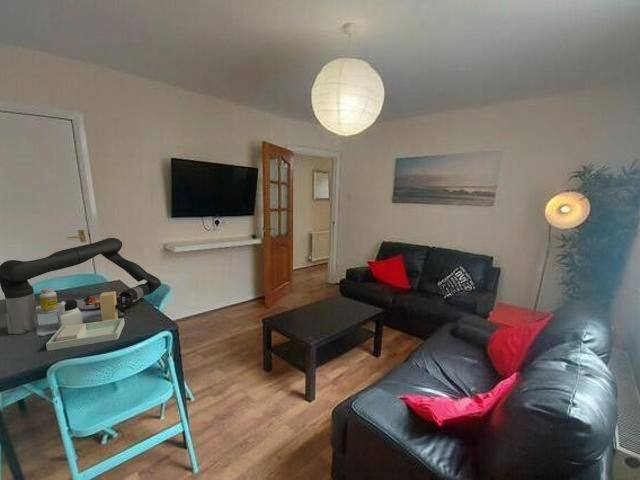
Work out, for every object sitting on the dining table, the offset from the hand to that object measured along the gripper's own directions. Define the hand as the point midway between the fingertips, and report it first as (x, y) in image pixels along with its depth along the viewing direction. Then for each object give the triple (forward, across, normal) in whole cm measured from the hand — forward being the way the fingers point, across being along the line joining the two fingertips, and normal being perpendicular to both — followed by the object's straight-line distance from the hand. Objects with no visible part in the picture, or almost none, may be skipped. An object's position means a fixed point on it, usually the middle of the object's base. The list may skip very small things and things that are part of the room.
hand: (108, 306), depth 143 cm
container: (+7, -14, +9) cm, 18 cm away
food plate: (-23, -24, +9) cm, 34 cm away
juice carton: (-1, 0, +8) cm, 9 cm away
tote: (+15, +3, +8) cm, 17 cm away
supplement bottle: (-8, -41, +9) cm, 43 cm away
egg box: (+18, -2, +8) cm, 20 cm away
